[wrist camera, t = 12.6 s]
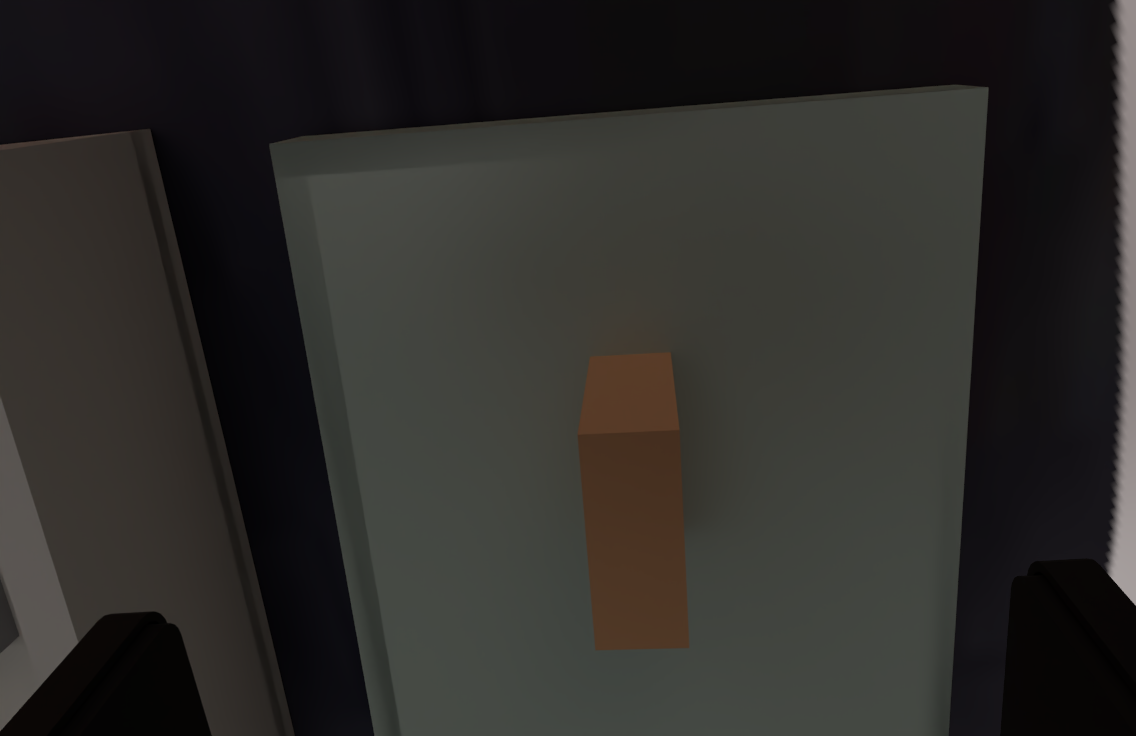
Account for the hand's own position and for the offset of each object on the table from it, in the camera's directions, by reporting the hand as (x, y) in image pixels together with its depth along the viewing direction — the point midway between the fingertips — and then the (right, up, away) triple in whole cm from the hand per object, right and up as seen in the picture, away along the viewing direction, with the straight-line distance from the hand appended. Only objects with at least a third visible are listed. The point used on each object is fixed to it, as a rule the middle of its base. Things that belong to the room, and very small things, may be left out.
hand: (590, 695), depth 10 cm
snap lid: (+2, 0, +16) cm, 16 cm away
